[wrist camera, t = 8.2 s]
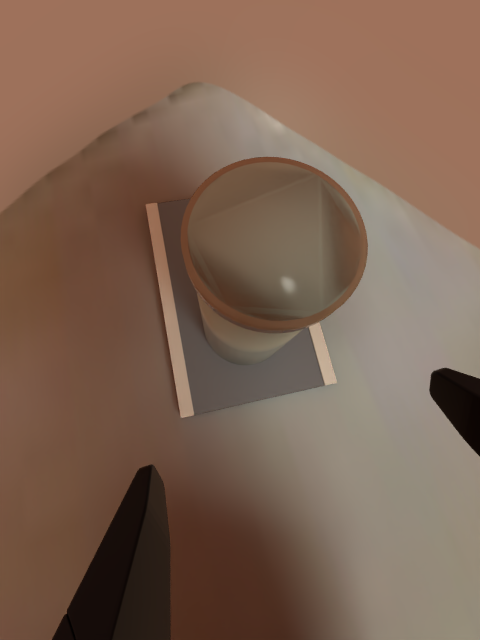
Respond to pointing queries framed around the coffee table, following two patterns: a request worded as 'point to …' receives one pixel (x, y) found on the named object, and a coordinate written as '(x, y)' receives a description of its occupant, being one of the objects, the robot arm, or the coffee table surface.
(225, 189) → the canister
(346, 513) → the coffee table surface
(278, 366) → the mat
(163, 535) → the robot arm
